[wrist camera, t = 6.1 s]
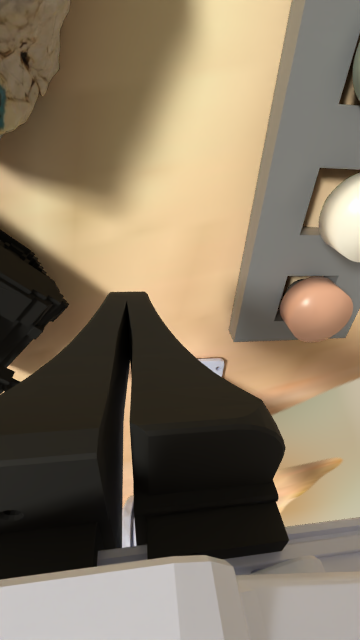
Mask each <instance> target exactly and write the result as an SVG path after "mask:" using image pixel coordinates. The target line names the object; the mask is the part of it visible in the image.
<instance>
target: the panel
mask: <svg viewBox="0 0 360 640" xmlns="http://www.w3.org/2000/svg"><path fill="white" fill-rule="evenodd" d="M359 34H360V0H292V2H291V7H290V13H289V18H288V23H287V28H286V34H285V39H284V44H283V49H282V54H281V60H280V65H279V70H278V75H277V81H276V86H275V91H274V96H273V101H272V107H271V112H270V117H269V122H268V128H267V133H266V138H265V143H264V148H263V154H262V159H261V164H260V169H259V175H258V180H257V185H256V190H255V195H254V201H253V206H252V211H251V216H250V222H249V227H248V232H247V237H246V242H245V248H244V253H243V258H242V263H241V268H240V274H239V279H238V284H237V289H236V295H235V300H234V305H233V310H232V315H231V321H230V326H229V332H230V334H231V337H232V339H233V342H248V341H275V340H299V339H297V338H296V337H295V336H294V335H293V333H292V332H291V330H290V329H289V327H288V326H287V325H286V323H285V322H284V320H283V319H282V317H281V315H280V310H278V307H279V304H280V300H281V297H282V293H283V290H284V287H285V283H286V280H287V277H288V276H324V277H325V278H328V279H330V280H331V281H332V282H334V283H335V284H336V285H337V286H338V287H339V288H340V289H341V290H343V291H344V292H345V293H346V294H347V295H348V296H349V297H350V298H351V300H352V303H353V312H352V315H351V318H350V319H349V321H348V322H347V324H346V325H345V326H344V327H343V328H342V329H341V330H340V331H339V332H338V333H336V334H335V335H333V336H332V337H330V338H345V337H346V335H347V333H348V331H349V329H350V327H351V325H352V323H353V321H354V319H355V317H356V315H357V313H358V311H359V309H360V262H354V261H351V260H349V259H347V258H346V257H344V256H343V255H342V254H340V253H339V252H337V251H336V250H335V249H333V248H332V247H331V246H329V245H328V244H327V243H326V242H324V240H323V239H322V237H321V235H320V231H319V228H316V227H302V226H303V223H304V219H305V216H306V213H307V209H308V206H309V202H310V199H311V196H312V192H313V189H314V186H315V182H316V179H317V175H318V172H319V169H320V168H337V169H358V170H360V106H358V105H345V104H339V101H340V98H341V95H342V91H343V88H344V84H345V81H346V78H347V74H348V71H349V68H350V64H351V61H352V58H353V54H354V51H355V47H356V44H357V41H358V37H359Z"/></svg>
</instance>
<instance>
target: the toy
mask: <svg viewBox="0 0 360 640" xmlns="http://www.w3.org/2000/svg"><path fill="white" fill-rule="evenodd" d="M34 255H35V254H34V253H32V252H31V250H29V249H28V248H26V247H25V246H23V245H22V244H20V243H19V242H18V241H16V240H15V239H13V238H12V237H10V236H9V235H7V234H6V233H5V232H3V231H2V230H0V394H1V393H2V392H3V391H5V392H6V391H7V390H9V389H11V388H12V387H14V386H15V385H17V384H19V383H20V381H17V380H15V379H13V378H12V377H13V375H14V371H12V370H10V369H8V368H7V367H8V366H9V365H10V364H11V362H12V361H13V360H14V359H15V358H16V357H17V356H18V355H19V354H20V353H21V352H22V351H23V349H24V348H25V347H26V346H27V345H28V344H29V343H30V342H31V341H32V340H33V339H36V338H37V337H38V336H39V335H40V334H41V333H42V332H43V330H44V327H45V326H46V324H47V323H48V322H49V321H52V322H53V321H54V320H55V319H56V318H57V317H58V316H59V315H60V314H61V313H62V312H63V311H64V310H65V309H66V308H67V307H68V305H69V304H68V303H67V301H66V300H65V299H63V295H62V294H60V293H59V289H58V287H57V286H56V284H55V282H54V281H53V280H52V279H50V277H49V276H47V275H46V273H47V272H45V271H44V270H43V267H42V266H40V264H41V263H40V262H38V261H37V259H38V258H36V257H35V256H34Z"/></svg>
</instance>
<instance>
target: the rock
mask: <svg viewBox="0 0 360 640" xmlns="http://www.w3.org/2000/svg"><path fill="white" fill-rule="evenodd" d="M69 11H70V0H0V140H1V138H2V136H3V135H4V134H5V133H8V132H12V131H14V130H15V129H16V128H17V127H18V126H19V125H21V124H24V123H26V121H27V120H28V118H29V116H30V114H31V112H32V110H33V108H34V105H35V103H36V100H37V98H38V95H39V93H40V94H41V96H42V97H43V96H44V94H45V93H46V91H47V89H48V84H49V82H50V80H51V79H52V77H53V76H54V75H55V74H56V72H57V71H58V70H59V69H60V68H59V60H58V58H59V53H60V29H61V27H62V24H63V21H64V19H65V17H66V15H67V14H68V12H69Z"/></svg>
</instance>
